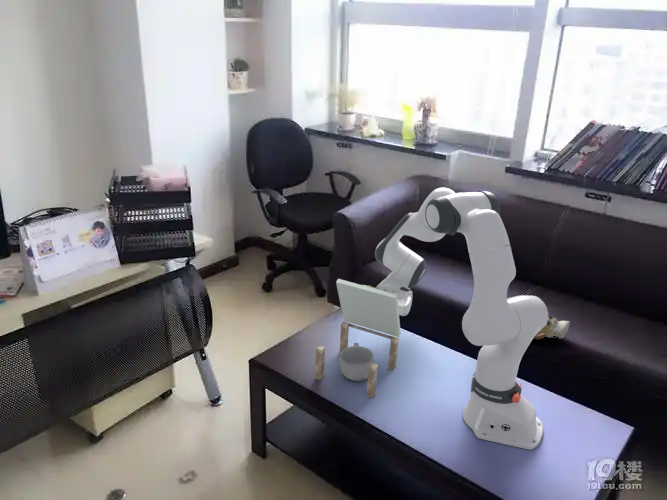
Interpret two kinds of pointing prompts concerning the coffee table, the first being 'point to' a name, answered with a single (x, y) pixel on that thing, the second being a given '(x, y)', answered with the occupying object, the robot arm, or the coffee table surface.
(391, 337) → the stand
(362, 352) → the teacup
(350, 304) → the lid
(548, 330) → the ceramic sculpture
